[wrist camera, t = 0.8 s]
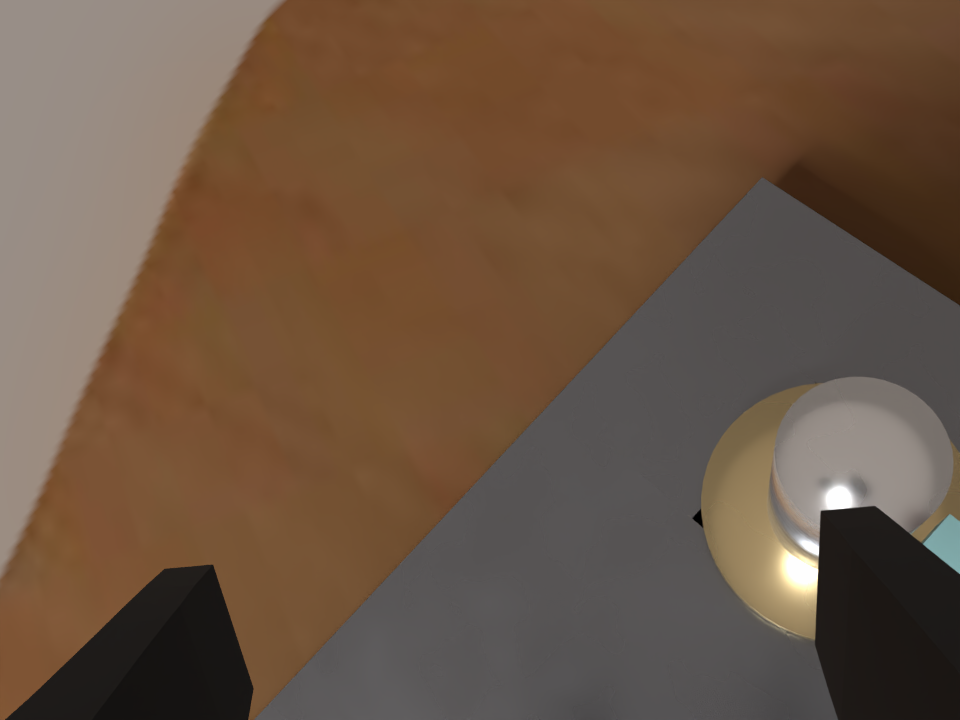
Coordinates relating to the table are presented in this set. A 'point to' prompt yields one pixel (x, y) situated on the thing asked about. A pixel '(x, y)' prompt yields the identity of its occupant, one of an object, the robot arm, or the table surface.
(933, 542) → the locking bolt
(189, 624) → the robot arm
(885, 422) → the gold disc with post
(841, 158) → the table surface
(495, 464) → the block
